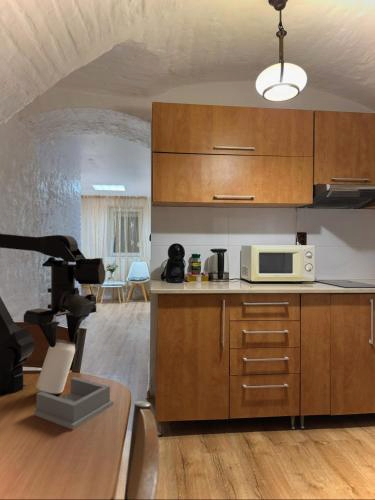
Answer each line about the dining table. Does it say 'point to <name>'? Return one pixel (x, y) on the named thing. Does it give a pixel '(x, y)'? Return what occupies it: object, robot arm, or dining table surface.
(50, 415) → the u rest
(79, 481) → the dining table surface
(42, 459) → the dining table surface
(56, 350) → the can
